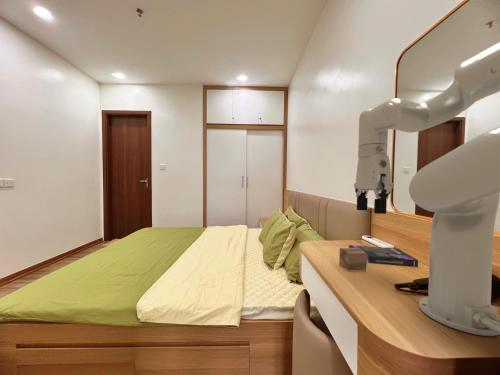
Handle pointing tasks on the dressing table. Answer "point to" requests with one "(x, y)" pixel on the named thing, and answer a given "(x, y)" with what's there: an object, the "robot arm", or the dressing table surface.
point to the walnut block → (353, 259)
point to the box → (387, 256)
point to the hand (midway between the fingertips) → (370, 211)
